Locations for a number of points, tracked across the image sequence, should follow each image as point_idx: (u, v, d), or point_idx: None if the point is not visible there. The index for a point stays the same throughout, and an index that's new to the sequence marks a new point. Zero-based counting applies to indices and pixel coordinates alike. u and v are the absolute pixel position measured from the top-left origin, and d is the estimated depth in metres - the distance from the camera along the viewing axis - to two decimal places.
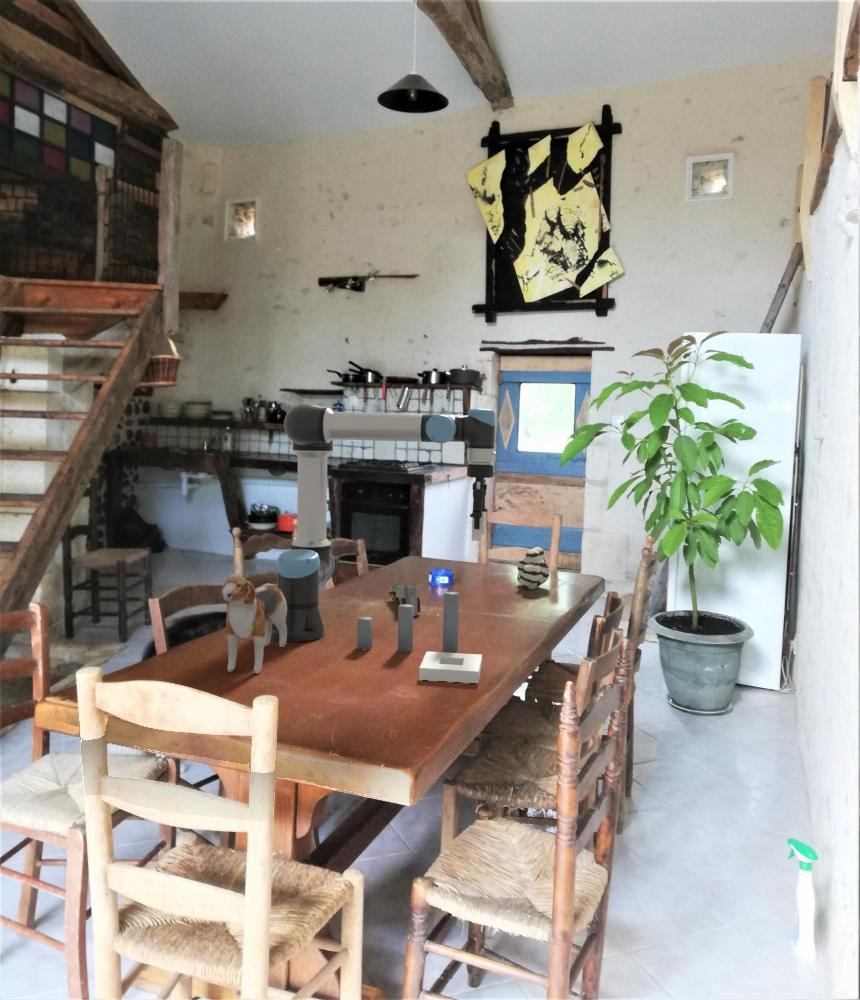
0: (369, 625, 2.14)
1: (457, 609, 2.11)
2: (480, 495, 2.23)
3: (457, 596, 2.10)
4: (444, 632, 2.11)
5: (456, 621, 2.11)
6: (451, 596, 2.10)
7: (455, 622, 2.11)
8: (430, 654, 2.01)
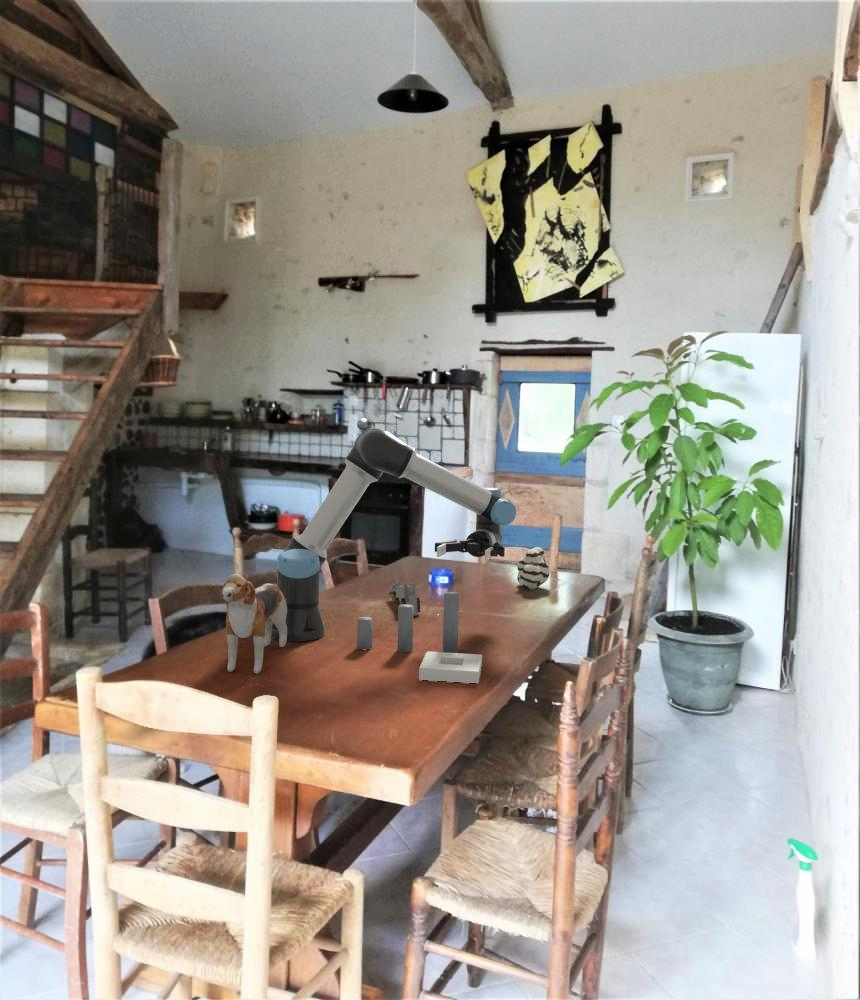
0: (369, 625, 2.14)
1: (457, 609, 2.11)
2: None
3: (457, 596, 2.10)
4: (444, 632, 2.11)
5: (456, 621, 2.11)
6: (451, 596, 2.10)
7: (455, 622, 2.11)
8: (430, 654, 2.01)
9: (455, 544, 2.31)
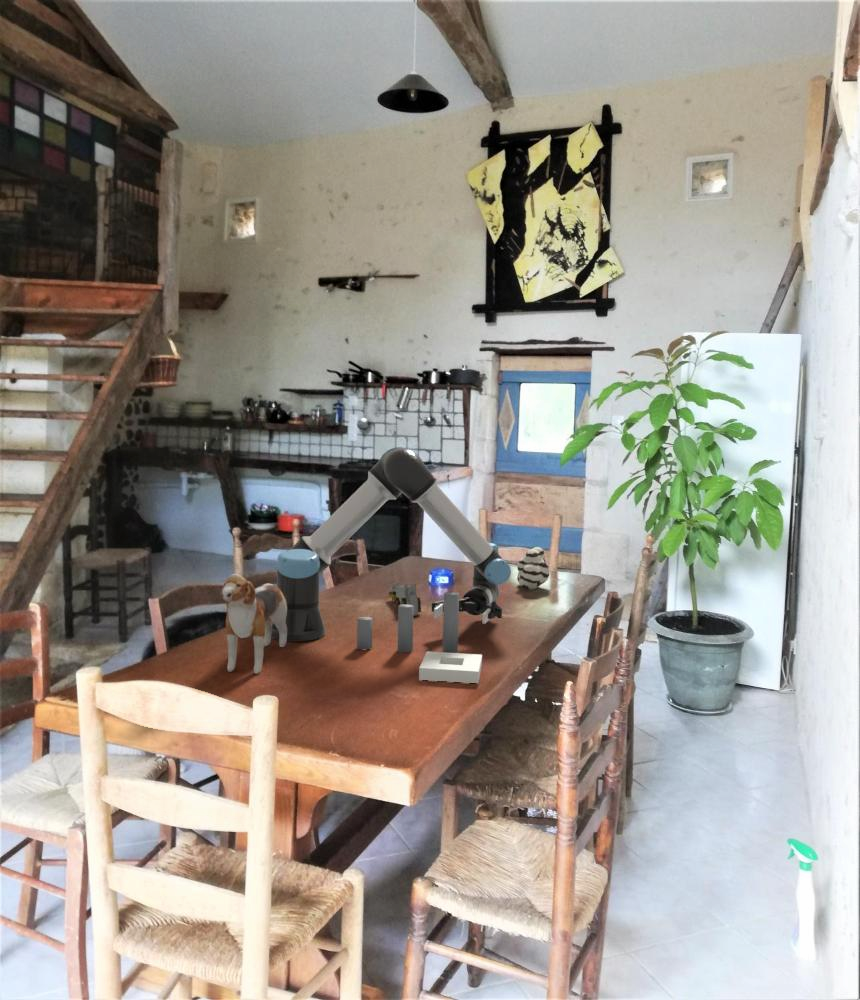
0: (368, 625, 2.14)
1: (457, 609, 2.11)
2: None
3: (457, 596, 2.10)
4: (444, 632, 2.11)
5: (456, 621, 2.11)
6: (451, 596, 2.10)
7: (455, 622, 2.11)
8: (430, 654, 2.01)
9: None
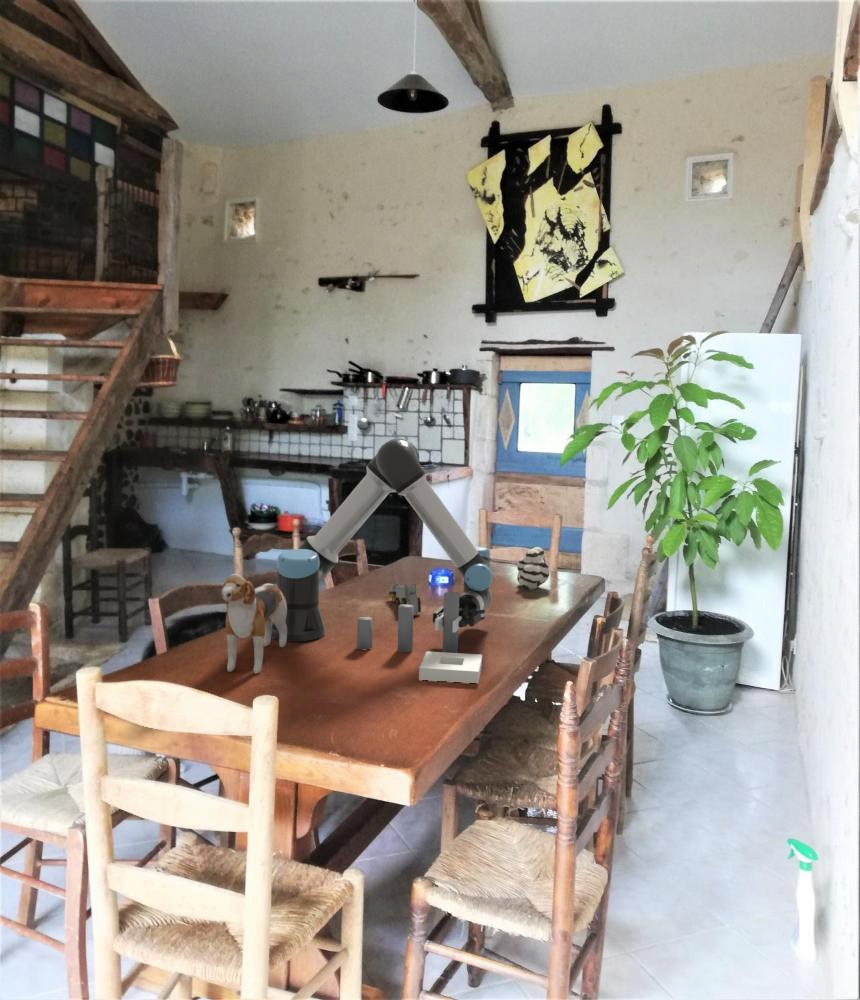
0: (369, 625, 2.14)
1: (457, 609, 2.11)
2: (479, 619, 2.18)
3: (457, 596, 2.10)
4: (444, 632, 2.11)
5: None
6: (451, 596, 2.10)
7: None
8: (430, 654, 2.01)
9: None
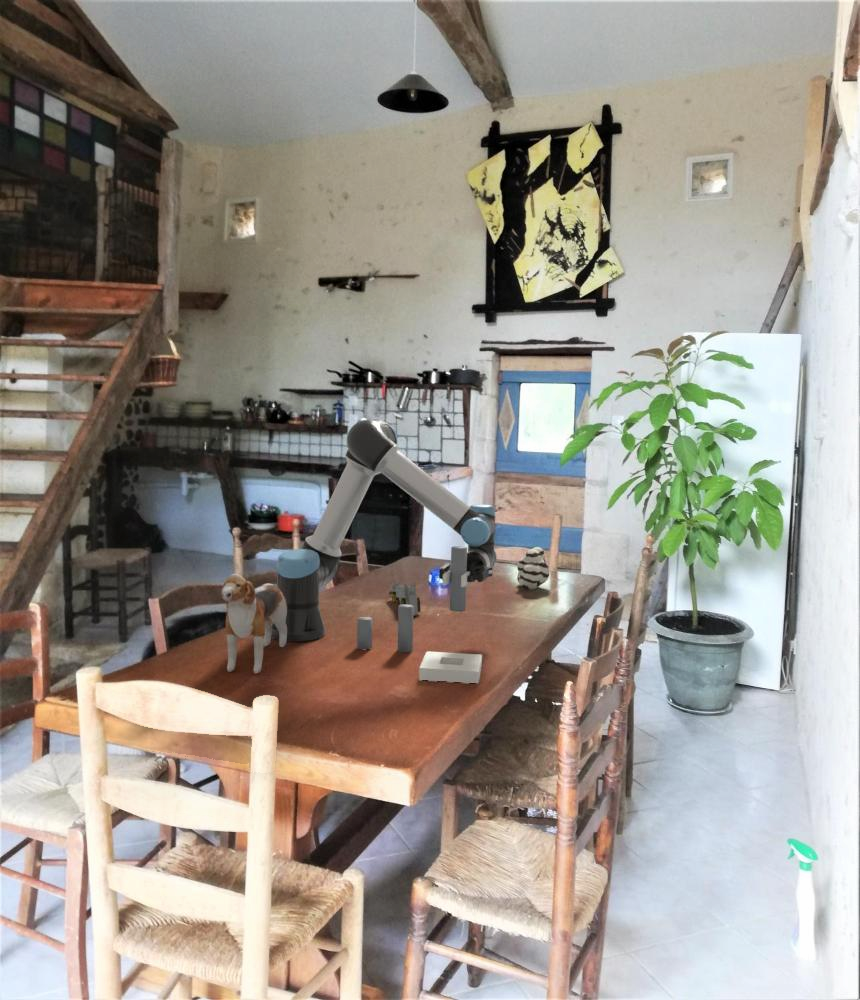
0: (369, 625, 2.14)
1: (465, 563, 2.02)
2: (487, 576, 2.10)
3: (465, 550, 2.02)
4: (451, 588, 2.03)
5: None
6: (459, 550, 2.01)
7: None
8: (430, 654, 2.01)
9: None
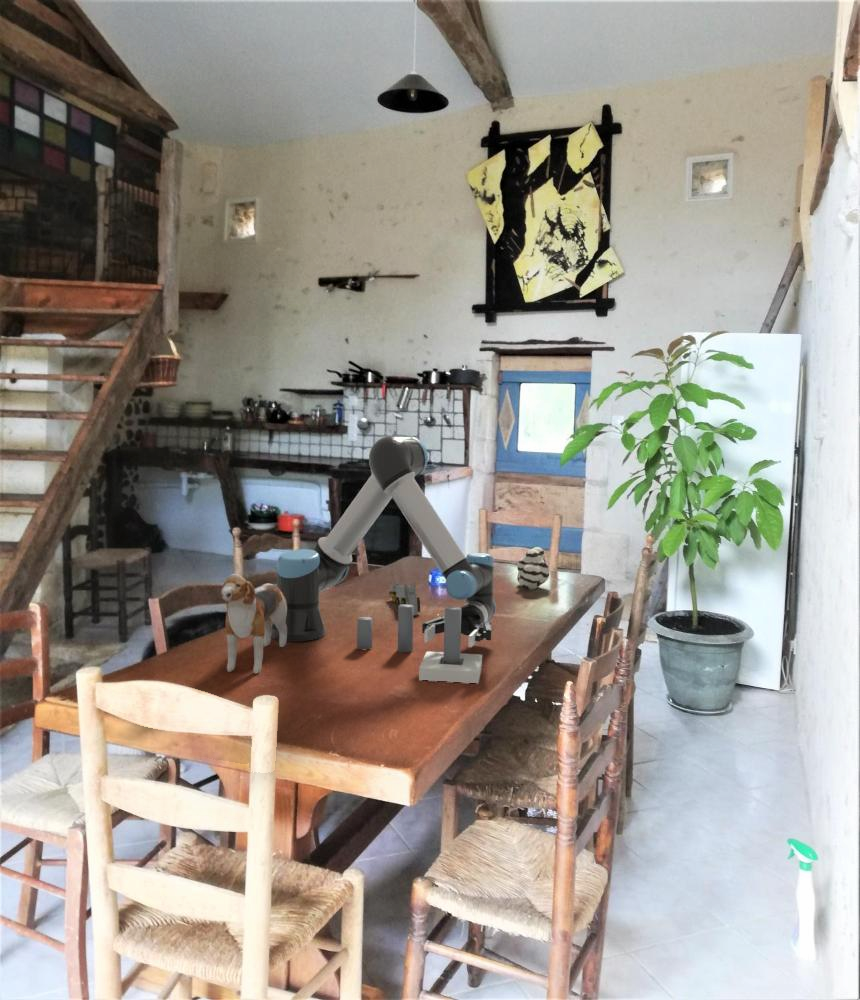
0: (369, 625, 2.14)
1: (459, 625, 1.94)
2: None
3: (459, 611, 1.93)
4: (445, 650, 1.94)
5: (458, 638, 1.94)
6: (453, 611, 1.93)
7: (456, 639, 1.94)
8: (430, 654, 2.01)
9: None
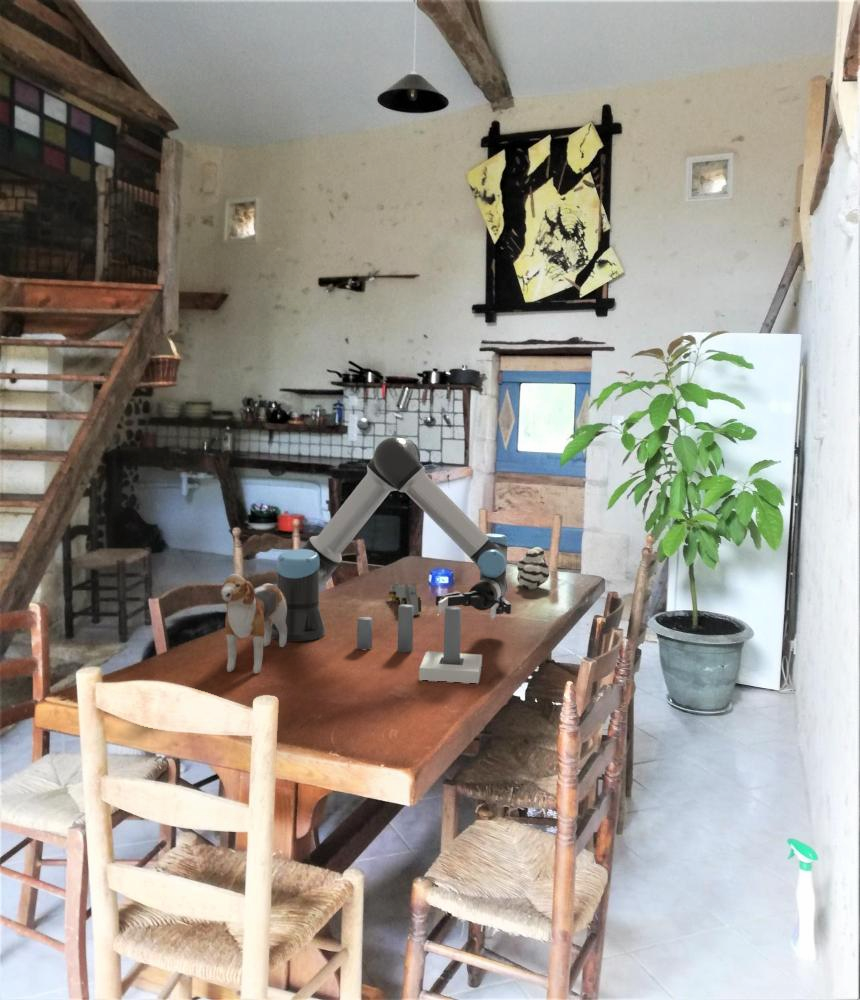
0: (368, 625, 2.14)
1: (459, 625, 1.94)
2: None
3: (459, 611, 1.93)
4: (445, 650, 1.94)
5: (458, 638, 1.94)
6: (453, 611, 1.93)
7: (456, 639, 1.94)
8: (430, 654, 2.01)
9: (458, 597, 2.15)
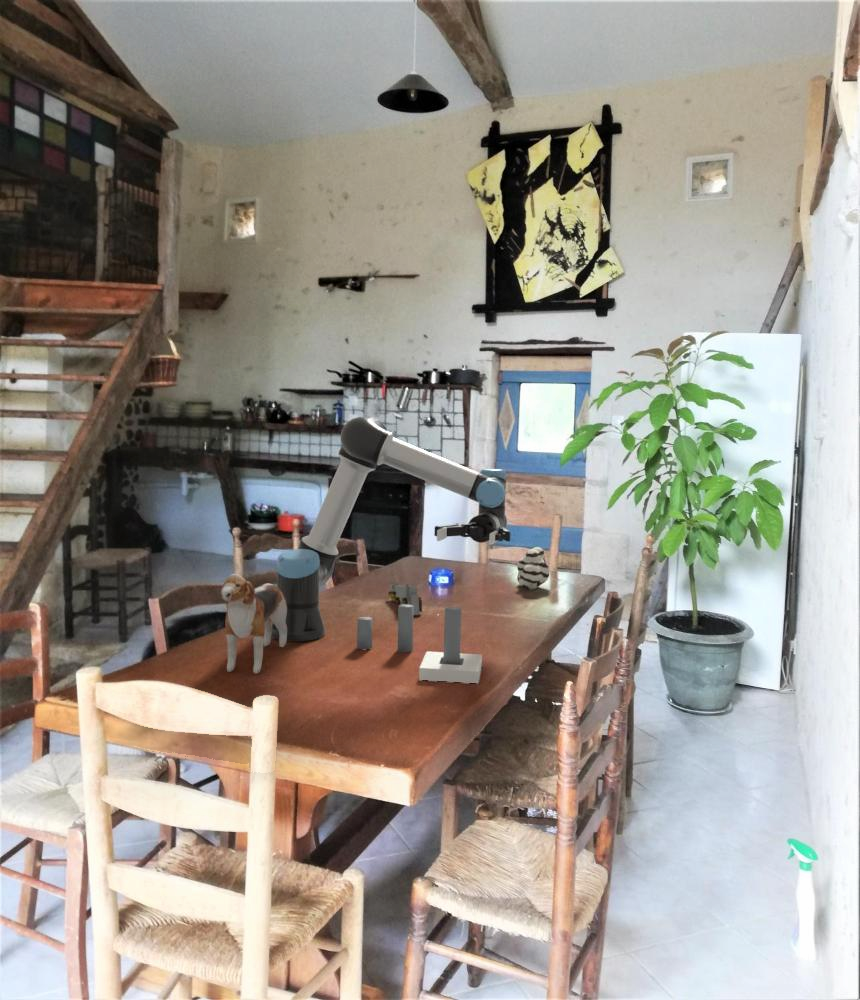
0: (369, 625, 2.14)
1: (459, 625, 1.94)
2: None
3: (459, 611, 1.93)
4: (445, 650, 1.94)
5: (458, 638, 1.94)
6: (452, 611, 1.93)
7: (456, 639, 1.94)
8: (430, 654, 2.01)
9: (457, 528, 2.13)
